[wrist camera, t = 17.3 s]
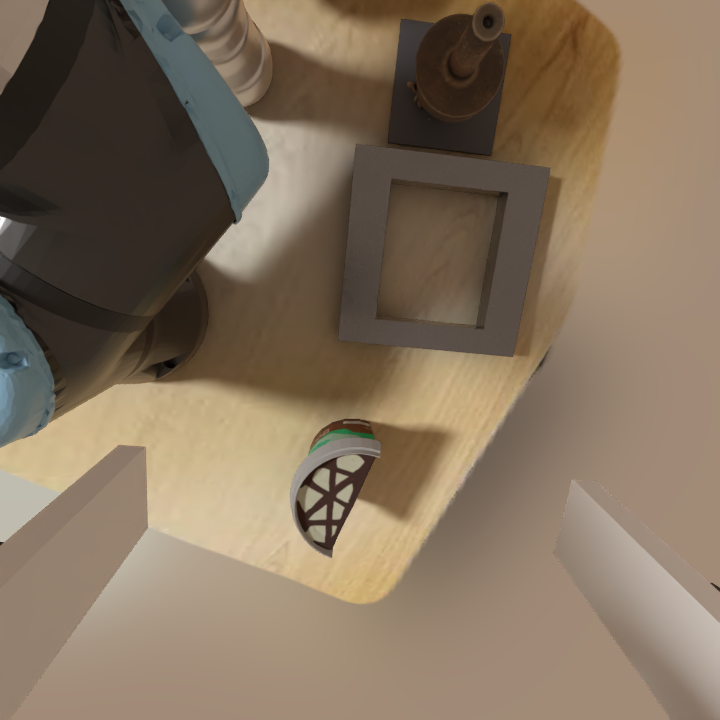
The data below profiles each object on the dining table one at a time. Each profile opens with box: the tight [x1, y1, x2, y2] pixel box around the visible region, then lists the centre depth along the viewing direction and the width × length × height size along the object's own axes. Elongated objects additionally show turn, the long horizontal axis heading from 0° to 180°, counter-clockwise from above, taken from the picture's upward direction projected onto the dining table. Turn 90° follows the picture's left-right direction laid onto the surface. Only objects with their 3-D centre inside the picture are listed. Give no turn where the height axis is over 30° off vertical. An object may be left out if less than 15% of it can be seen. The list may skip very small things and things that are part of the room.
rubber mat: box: [388, 19, 511, 156], centre depth 38 cm, size 10×10×1 cm
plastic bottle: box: [161, 0, 273, 107], centre depth 28 cm, size 6×7×20 cm
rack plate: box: [338, 144, 550, 357], centre depth 41 cm, size 18×18×2 cm
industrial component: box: [407, 2, 505, 123], centre depth 32 cm, size 9×7×12 cm
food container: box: [290, 419, 381, 558], centre depth 42 cm, size 12×6×10 cm, turn 157°
